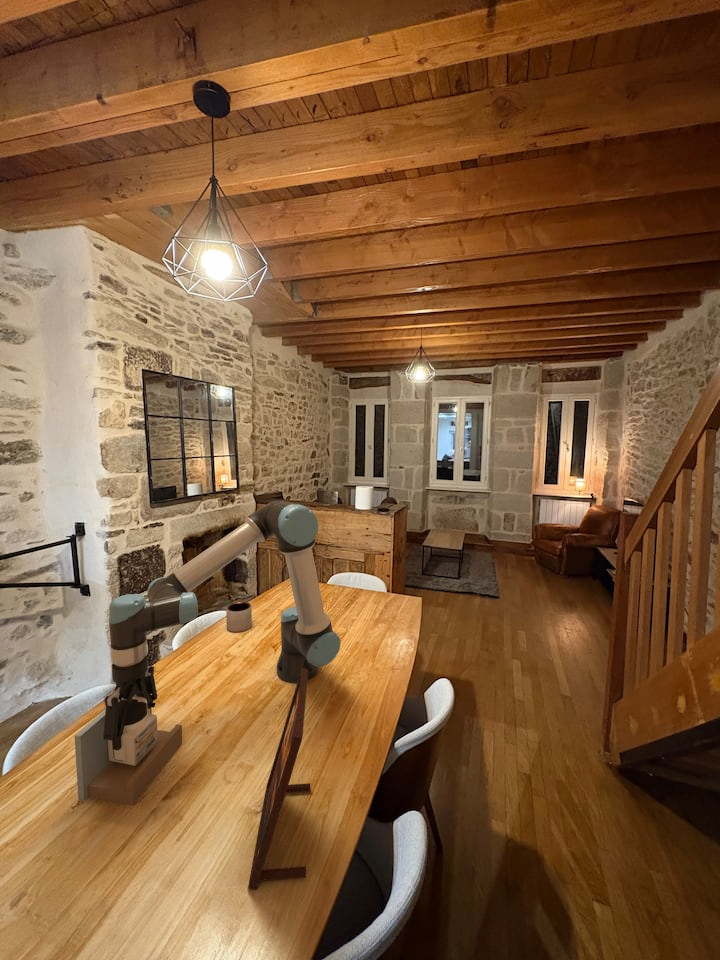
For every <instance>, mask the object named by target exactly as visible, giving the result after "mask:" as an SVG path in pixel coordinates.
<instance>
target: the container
mask: <svg viewBox="0 0 720 960" xmlns="http://www.w3.org/2000/svg"><path fill="white" fill-rule="evenodd" d="M157 715H158V714H153V713H152V714H148V712H147V700H146V699H145V698H143V697H133V698H132V703H131V704H129V708H128V712H127V717H126V721H125V726H124V730H123V733H126V751H127V759H126V760H125V761H122V760H116V759H115V758H114V750H113V749H112V741H111V740H108V751H109V760H110V761H115V762H119V763H124V764H129V765H134V766H135V765H137V764H138V763H139V761H140V760H141V759H142V758H143V757H144V756H145V755H146V754H147V753H148V752H149V751H150V750H151V749H152V748H153V747H154V746H155V745H156V743H157V742H158V733H157V730H158V716H157ZM117 731H118V730H117Z"/></svg>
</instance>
